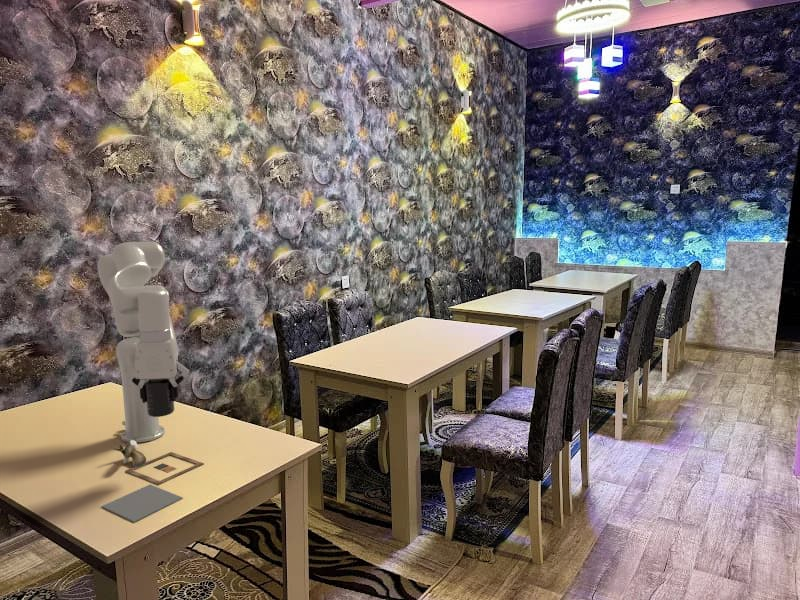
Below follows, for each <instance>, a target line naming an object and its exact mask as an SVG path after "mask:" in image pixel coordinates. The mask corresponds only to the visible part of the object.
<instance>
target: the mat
mask: <svg viewBox="0 0 800 600" xmlns="http://www.w3.org/2000/svg"><path fill="white" fill-rule="evenodd" d="M183 499H184V498H183V496H180V495H178V494H175V493H174V492H170V491H167V490H164V489H163V488H160V487H157V486H155V485H153V484H147V485H145V486H143V487H140V488H139V489H136V490H134V491H133V492H130V493H128V494H125V495H123V496H121V497H119V498H116V499H114V500H112V501H109V502H108V503H104V504H103V505H101V508H102V509H104V510H107V511H109V512H110V513H113V514H115V515H117V516H119V517H121V518H124V519H126V520H128V521H130V522H132V523H134V524H135V523H137V522H139V521H141V520H143V519H145V518H146V517H148V516H149V517H150V516H152V515H153V514H155V513H157V512H159V511H161V510H163V509H165V508H167V507H169V506H171V505H172V504H175V503H177V502H179V501H181V500H183Z"/></svg>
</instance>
